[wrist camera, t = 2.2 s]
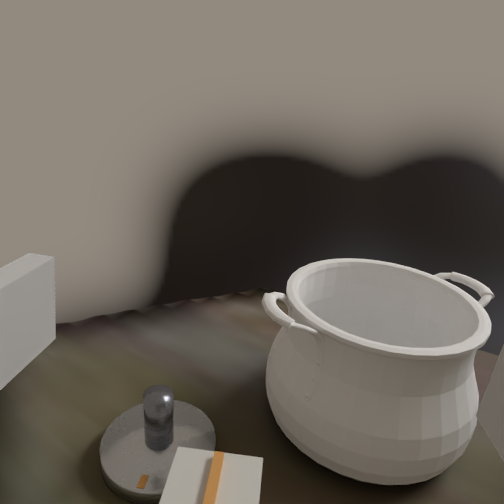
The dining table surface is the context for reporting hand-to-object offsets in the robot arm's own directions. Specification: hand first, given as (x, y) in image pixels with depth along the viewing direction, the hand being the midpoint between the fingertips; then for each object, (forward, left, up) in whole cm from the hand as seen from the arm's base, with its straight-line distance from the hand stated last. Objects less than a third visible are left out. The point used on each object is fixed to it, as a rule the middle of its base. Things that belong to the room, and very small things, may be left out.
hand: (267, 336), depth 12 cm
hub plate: (-17, -18, -31) cm, 40 cm away
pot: (-34, 0, -31) cm, 47 cm away
